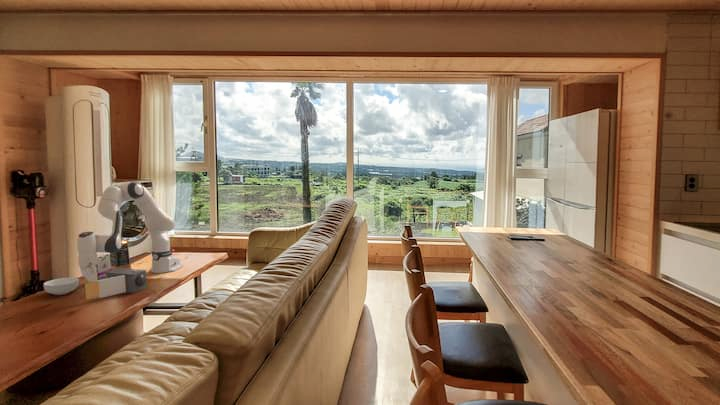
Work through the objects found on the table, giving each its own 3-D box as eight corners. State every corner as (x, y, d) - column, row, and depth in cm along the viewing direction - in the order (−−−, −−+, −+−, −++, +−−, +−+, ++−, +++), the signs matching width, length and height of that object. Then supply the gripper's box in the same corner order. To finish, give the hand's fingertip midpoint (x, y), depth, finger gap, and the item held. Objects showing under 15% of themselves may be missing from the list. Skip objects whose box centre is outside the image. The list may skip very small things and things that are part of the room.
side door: (125, 291, 240) (124, 275, 239) (126, 292, 239) (125, 275, 238) (86, 300, 225) (84, 282, 224) (87, 301, 224) (85, 283, 223)
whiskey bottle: (109, 271, 285) (106, 225, 281) (123, 267, 293) (120, 223, 289) (117, 273, 279) (114, 227, 276) (131, 269, 288) (129, 224, 284)
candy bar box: (106, 277, 269) (104, 253, 267) (112, 278, 268) (110, 253, 266) (91, 283, 258) (89, 257, 256) (98, 283, 257) (96, 258, 255)
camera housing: (120, 284, 254) (119, 266, 253) (148, 288, 248) (147, 269, 247) (106, 290, 245) (105, 270, 243) (135, 293, 239) (134, 273, 237)
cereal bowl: (86, 290, 245) (85, 278, 244) (58, 299, 229) (57, 287, 228) (66, 287, 250) (65, 275, 249) (37, 295, 235) (36, 283, 234)
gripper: (99, 264, 221) (101, 288, 223) (90, 257, 236) (92, 280, 237) (85, 266, 217) (87, 291, 218) (77, 259, 231) (79, 283, 233)
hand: (89, 285), depth 228 cm, fingers closed
